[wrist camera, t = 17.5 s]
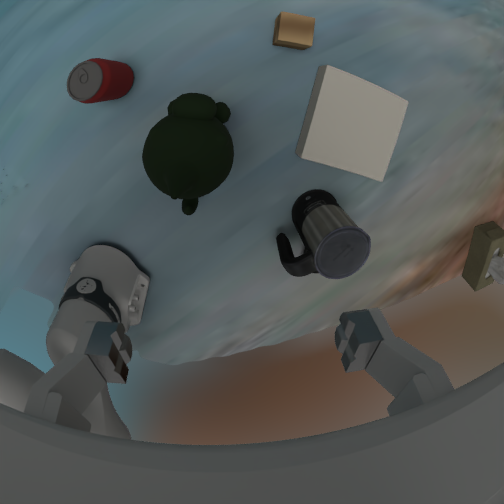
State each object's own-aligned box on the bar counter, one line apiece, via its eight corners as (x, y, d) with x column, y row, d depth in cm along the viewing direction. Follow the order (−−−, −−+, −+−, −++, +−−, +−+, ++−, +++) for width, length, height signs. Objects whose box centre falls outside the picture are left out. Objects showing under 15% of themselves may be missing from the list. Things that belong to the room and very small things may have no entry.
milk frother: (316, 178, 47) (348, 214, 35) (364, 227, 54) (399, 270, 42) (264, 232, 53) (276, 282, 40) (316, 271, 59) (338, 321, 47)
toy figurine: (237, 97, 38) (252, 102, 18) (218, 203, 48) (215, 302, 27) (179, 90, 37) (125, 90, 16) (166, 196, 47) (125, 290, 26)
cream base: (372, 174, 47) (382, 182, 44) (295, 152, 44) (301, 158, 41) (396, 99, 39) (408, 101, 36) (318, 66, 36) (327, 64, 33)
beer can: (129, 56, 32) (98, 48, 22) (139, 89, 35) (111, 90, 26) (95, 73, 32) (58, 73, 22) (105, 105, 36) (70, 113, 26)
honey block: (302, 50, 34) (311, 46, 30) (272, 45, 34) (277, 39, 30) (305, 24, 32) (315, 18, 27) (275, 19, 31) (281, 11, 27)
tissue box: (479, 268, 67) (505, 299, 54) (460, 276, 67) (488, 309, 54) (493, 219, 56) (526, 248, 43) (474, 225, 57) (510, 257, 44)
